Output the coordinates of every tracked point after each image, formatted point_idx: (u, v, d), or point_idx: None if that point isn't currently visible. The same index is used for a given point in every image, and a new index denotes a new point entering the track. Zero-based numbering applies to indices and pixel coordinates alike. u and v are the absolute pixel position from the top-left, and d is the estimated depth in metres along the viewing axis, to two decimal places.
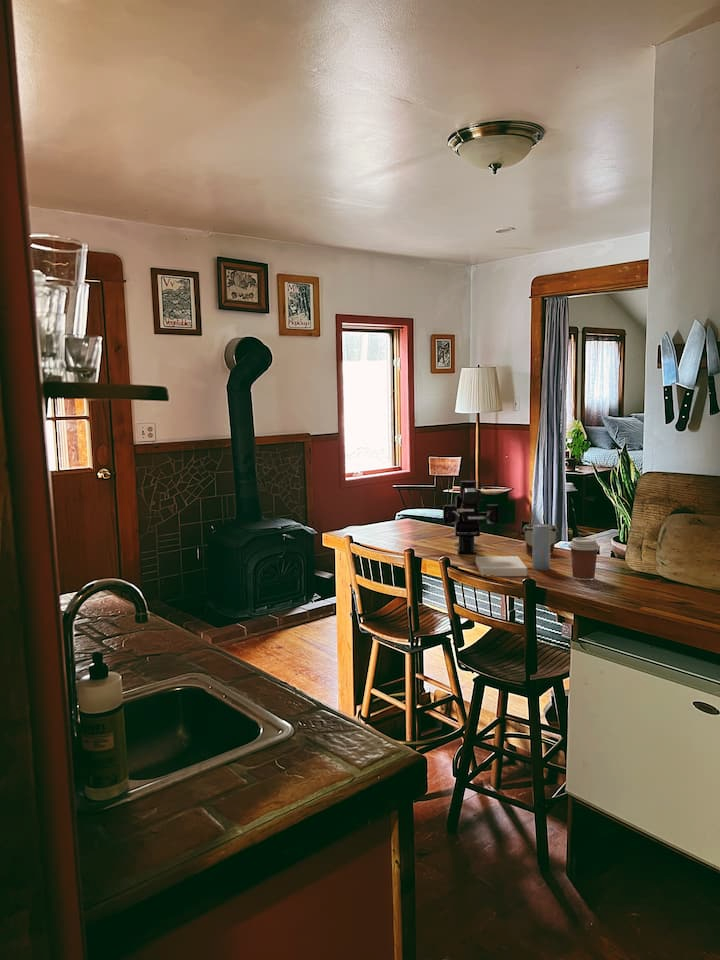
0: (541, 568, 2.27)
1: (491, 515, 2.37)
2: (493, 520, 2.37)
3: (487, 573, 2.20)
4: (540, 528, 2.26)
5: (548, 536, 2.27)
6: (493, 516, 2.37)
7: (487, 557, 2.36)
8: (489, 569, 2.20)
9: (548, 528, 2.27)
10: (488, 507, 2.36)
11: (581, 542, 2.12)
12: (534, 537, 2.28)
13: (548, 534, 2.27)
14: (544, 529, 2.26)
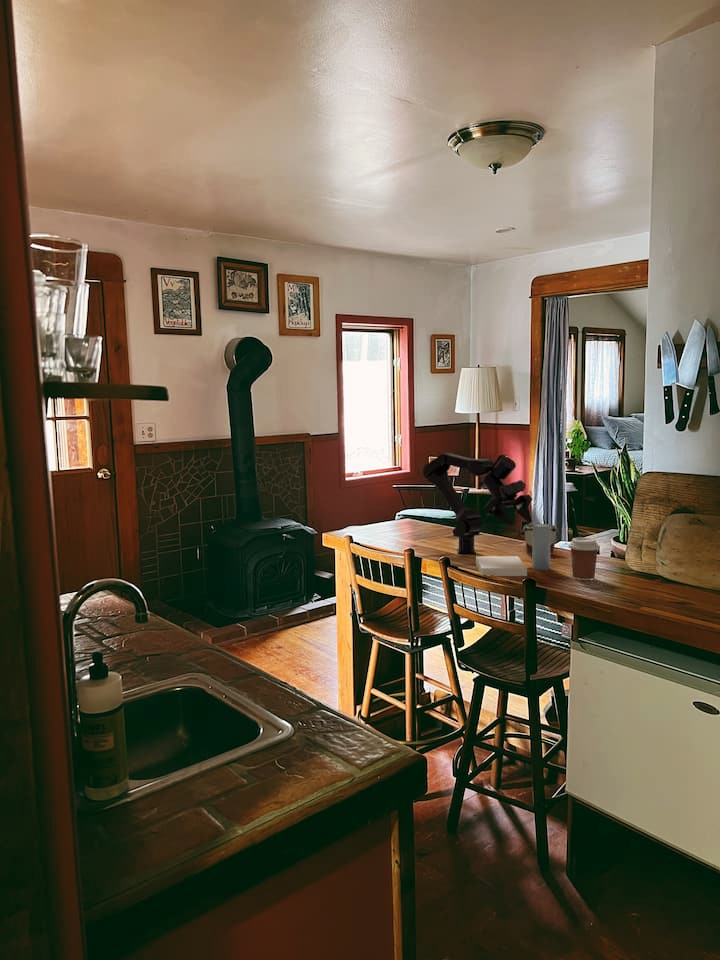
0: (541, 568, 2.27)
1: None
2: None
3: (487, 573, 2.20)
4: (540, 528, 2.26)
5: (548, 536, 2.27)
6: None
7: (487, 557, 2.36)
8: (489, 569, 2.20)
9: (548, 528, 2.27)
10: (526, 503, 2.40)
11: (581, 542, 2.12)
12: (534, 537, 2.28)
13: (548, 534, 2.27)
14: (544, 529, 2.26)
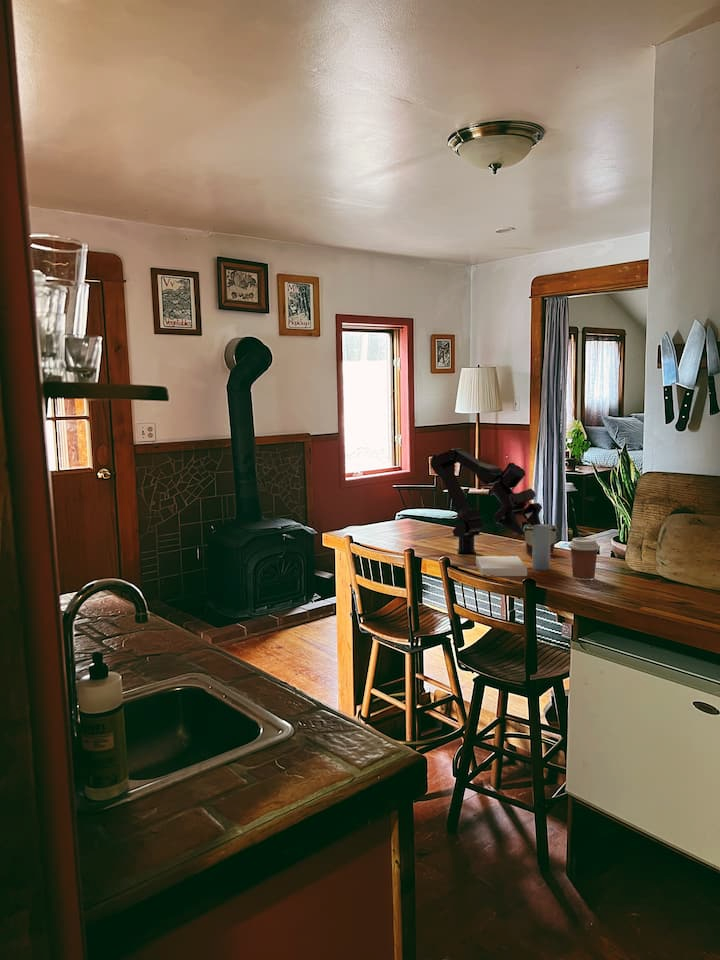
0: (541, 568, 2.27)
1: None
2: None
3: (487, 573, 2.20)
4: (540, 528, 2.26)
5: (547, 536, 2.27)
6: None
7: (487, 557, 2.36)
8: (489, 569, 2.20)
9: (548, 528, 2.27)
10: (536, 511, 2.37)
11: (581, 542, 2.12)
12: (534, 537, 2.28)
13: (548, 534, 2.27)
14: (544, 529, 2.26)
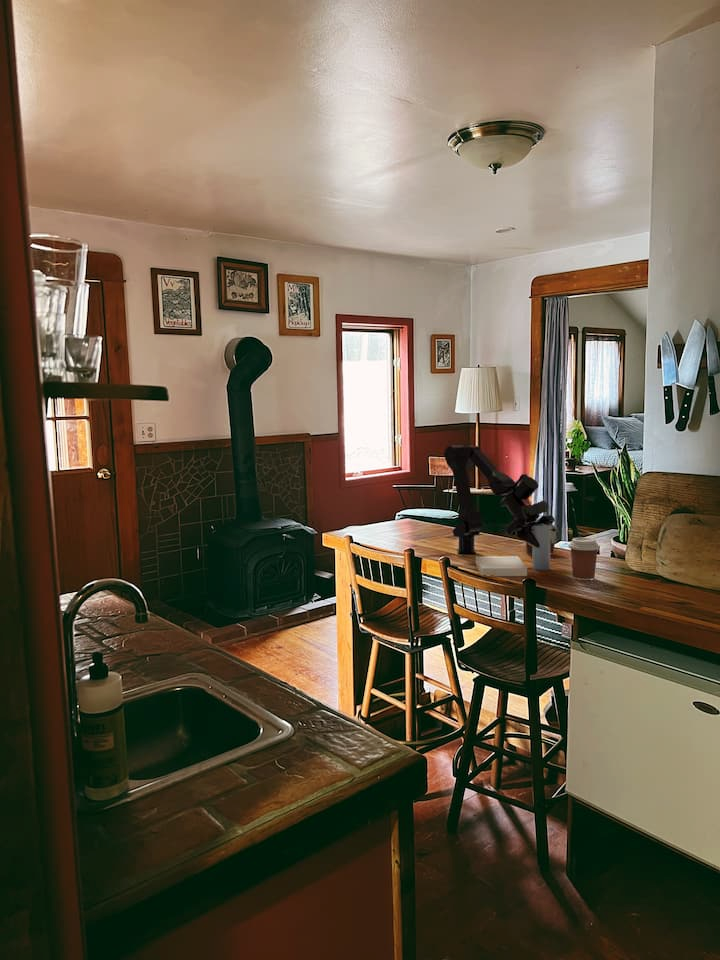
0: (541, 568, 2.27)
1: None
2: None
3: (487, 573, 2.20)
4: (540, 528, 2.26)
5: (548, 536, 2.27)
6: None
7: (487, 557, 2.36)
8: (489, 569, 2.20)
9: (548, 528, 2.27)
10: (546, 524, 2.32)
11: (581, 542, 2.12)
12: None
13: (548, 534, 2.27)
14: (544, 529, 2.26)
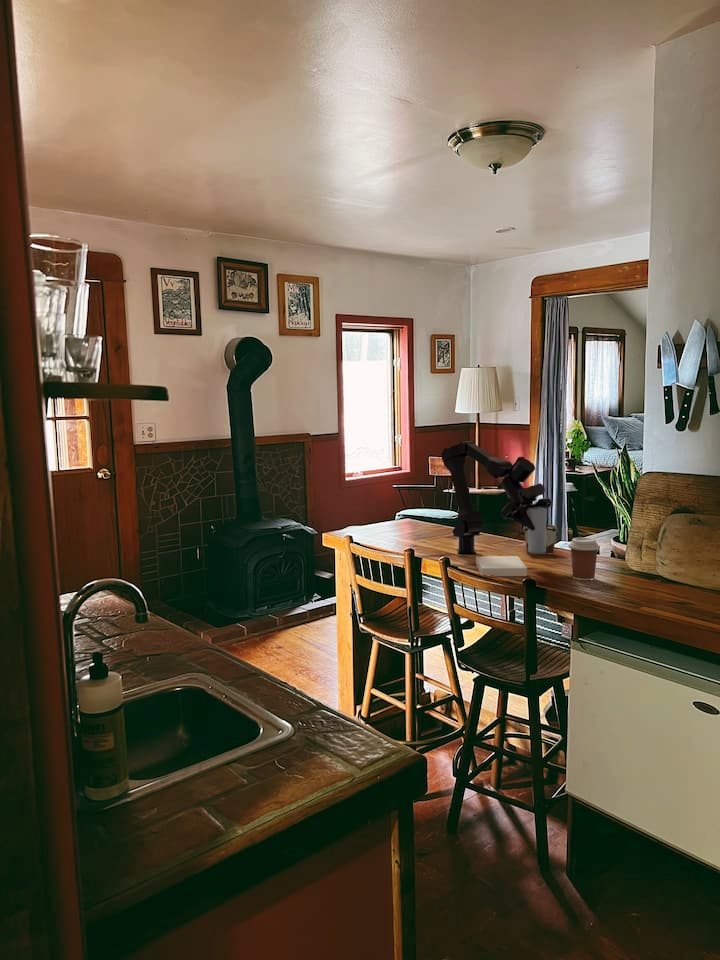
0: (536, 551, 2.26)
1: None
2: None
3: (487, 573, 2.20)
4: (535, 511, 2.25)
5: (543, 519, 2.25)
6: None
7: (487, 557, 2.36)
8: (489, 569, 2.20)
9: (543, 511, 2.25)
10: (542, 507, 2.30)
11: (581, 542, 2.12)
12: None
13: (543, 517, 2.25)
14: (539, 511, 2.24)
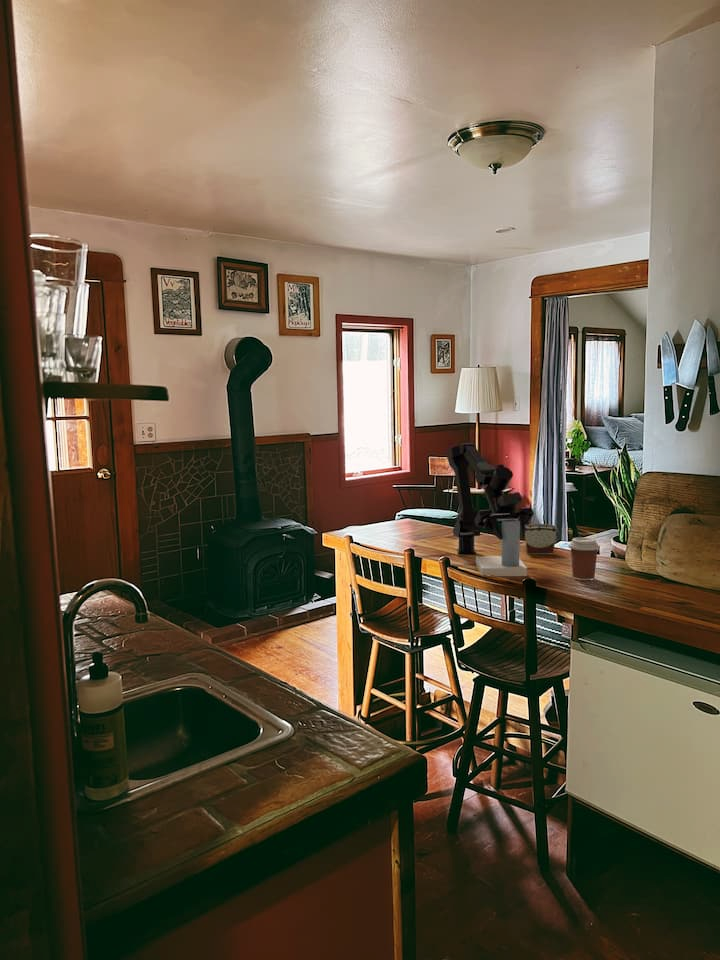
0: (507, 564, 2.22)
1: None
2: None
3: (487, 573, 2.20)
4: (506, 523, 2.21)
5: (514, 532, 2.21)
6: None
7: (487, 557, 2.36)
8: (489, 569, 2.20)
9: (515, 524, 2.20)
10: (522, 516, 2.26)
11: (581, 542, 2.12)
12: (502, 532, 2.23)
13: (515, 530, 2.21)
14: (509, 524, 2.20)
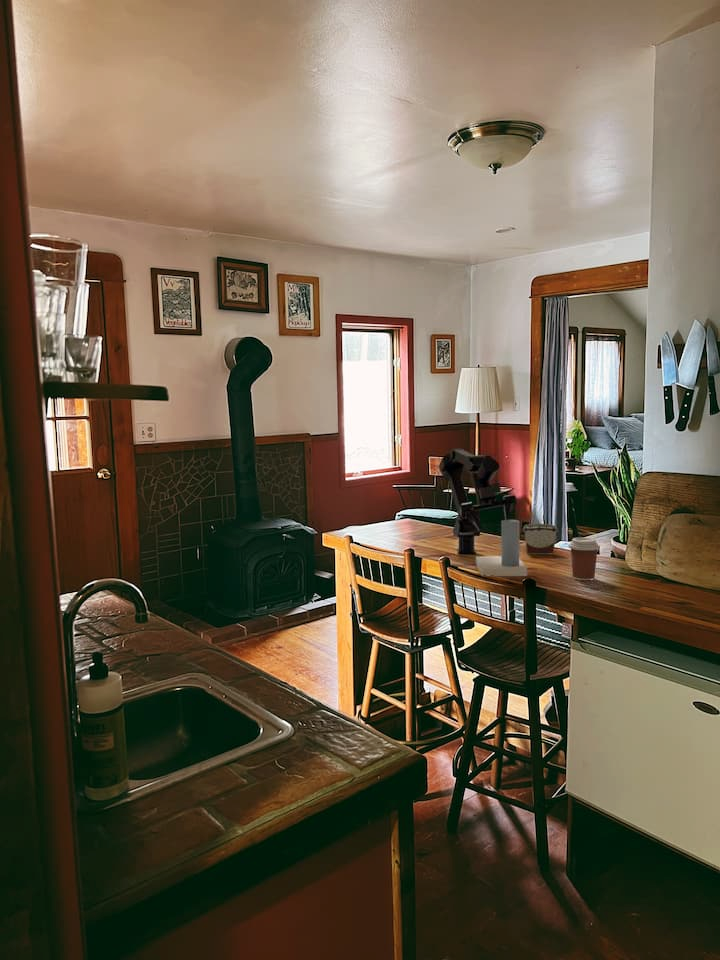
0: (506, 564, 2.22)
1: None
2: (510, 510, 2.37)
3: (487, 573, 2.20)
4: (505, 523, 2.21)
5: (513, 532, 2.21)
6: (510, 508, 2.36)
7: (487, 557, 2.36)
8: (489, 569, 2.20)
9: (514, 524, 2.20)
10: (506, 505, 2.33)
11: (581, 542, 2.12)
12: (501, 532, 2.23)
13: (514, 530, 2.21)
14: (509, 524, 2.20)
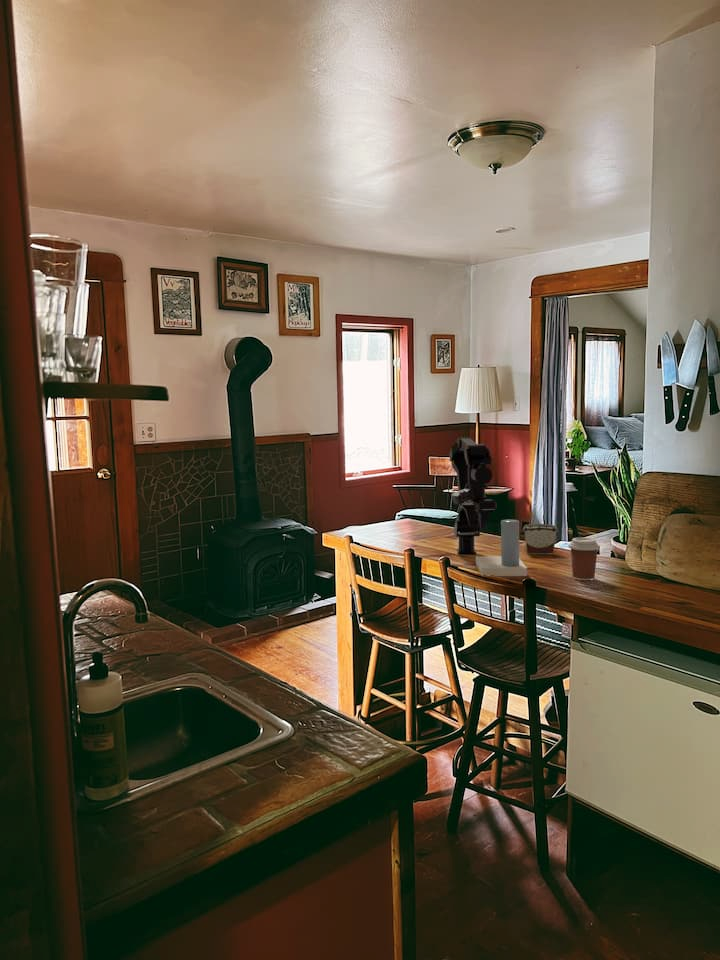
0: (506, 564, 2.22)
1: (485, 510, 2.33)
2: (491, 510, 2.33)
3: (487, 573, 2.20)
4: (505, 523, 2.21)
5: (513, 532, 2.20)
6: (487, 511, 2.33)
7: (487, 557, 2.36)
8: (489, 569, 2.20)
9: (513, 524, 2.20)
10: (476, 511, 2.34)
11: (581, 542, 2.12)
12: (501, 532, 2.23)
13: (513, 530, 2.20)
14: (508, 524, 2.20)
